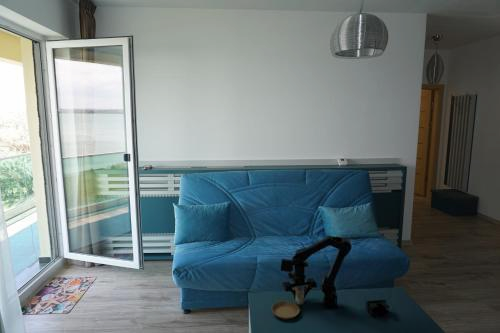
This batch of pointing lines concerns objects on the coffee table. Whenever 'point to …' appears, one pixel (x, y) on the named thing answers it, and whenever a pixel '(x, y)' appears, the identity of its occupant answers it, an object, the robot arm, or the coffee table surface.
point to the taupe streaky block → (299, 295)
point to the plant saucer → (285, 309)
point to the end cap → (377, 308)
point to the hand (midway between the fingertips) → (299, 298)
